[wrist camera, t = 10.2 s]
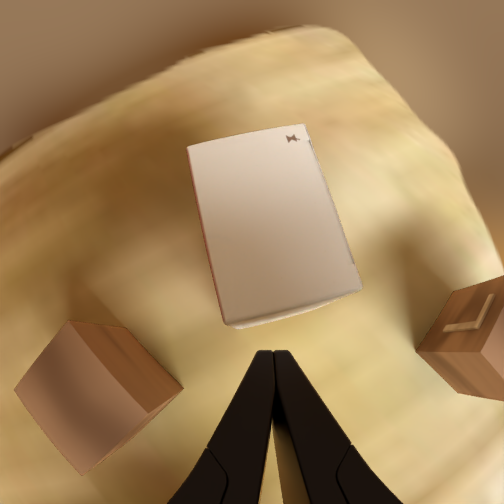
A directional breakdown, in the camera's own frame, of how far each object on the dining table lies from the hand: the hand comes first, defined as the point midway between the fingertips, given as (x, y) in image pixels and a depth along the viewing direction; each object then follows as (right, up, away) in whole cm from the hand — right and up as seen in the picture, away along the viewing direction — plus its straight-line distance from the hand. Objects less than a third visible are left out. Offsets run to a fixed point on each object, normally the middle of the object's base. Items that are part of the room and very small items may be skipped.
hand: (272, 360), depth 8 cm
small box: (0, +2, +14) cm, 15 cm away
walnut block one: (-9, -7, +12) cm, 17 cm away
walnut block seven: (+16, -4, +13) cm, 21 cm away
